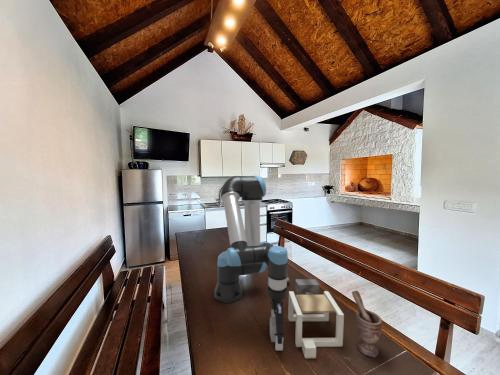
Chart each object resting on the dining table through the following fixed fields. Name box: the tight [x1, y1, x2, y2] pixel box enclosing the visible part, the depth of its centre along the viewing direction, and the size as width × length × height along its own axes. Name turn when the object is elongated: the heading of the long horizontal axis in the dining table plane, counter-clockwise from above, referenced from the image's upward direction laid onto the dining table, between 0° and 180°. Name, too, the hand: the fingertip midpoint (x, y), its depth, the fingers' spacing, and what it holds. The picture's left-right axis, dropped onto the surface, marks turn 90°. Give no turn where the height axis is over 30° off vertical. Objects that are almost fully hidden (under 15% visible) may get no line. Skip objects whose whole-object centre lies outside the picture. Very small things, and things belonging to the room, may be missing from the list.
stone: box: [269, 316, 285, 343], centre depth 88 cm, size 5×5×7 cm
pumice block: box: [301, 339, 317, 359], centre depth 80 cm, size 4×4×4 cm
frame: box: [287, 290, 345, 348], centre depth 91 cm, size 18×16×13 cm
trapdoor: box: [294, 278, 336, 314], centre depth 94 cm, size 13×18×4 cm
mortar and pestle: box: [351, 290, 383, 359], centre depth 83 cm, size 12×9×20 cm
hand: (276, 335), depth 88 cm, fingers open, 13 cm apart
